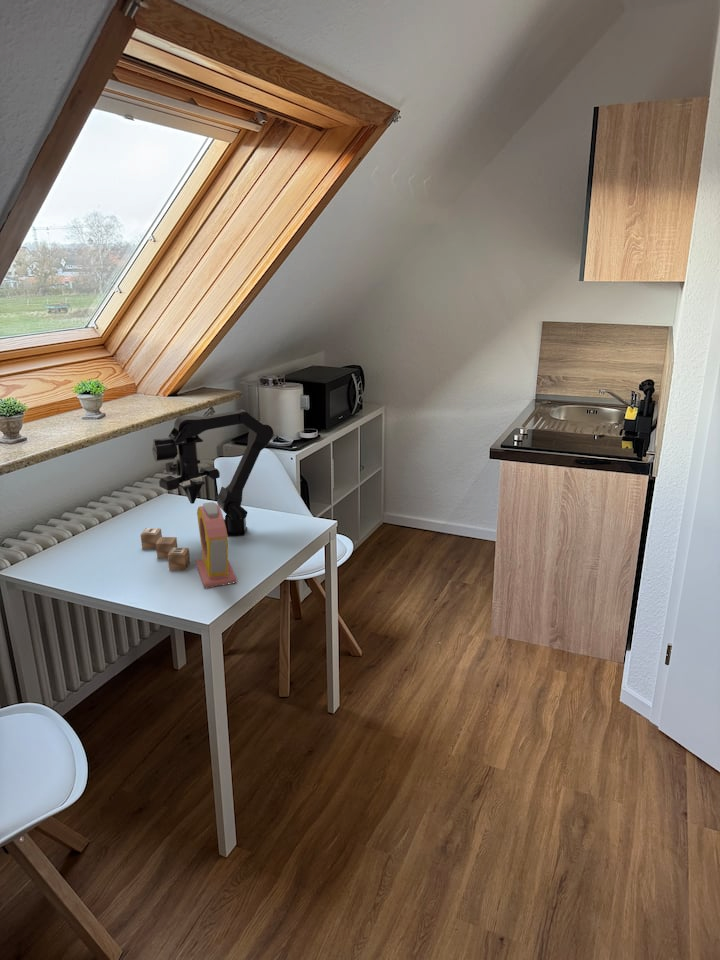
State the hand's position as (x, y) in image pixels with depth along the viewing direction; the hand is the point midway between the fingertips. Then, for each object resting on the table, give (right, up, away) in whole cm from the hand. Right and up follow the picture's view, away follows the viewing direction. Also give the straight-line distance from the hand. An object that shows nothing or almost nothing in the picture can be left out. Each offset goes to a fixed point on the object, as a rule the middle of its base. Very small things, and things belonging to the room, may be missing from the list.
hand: (192, 503), depth 222 cm
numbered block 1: (-13, -14, +1) cm, 19 cm away
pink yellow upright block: (+11, -20, -19) cm, 30 cm away
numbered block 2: (0, -19, -14) cm, 23 cm away
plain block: (-6, -16, -6) cm, 18 cm away
